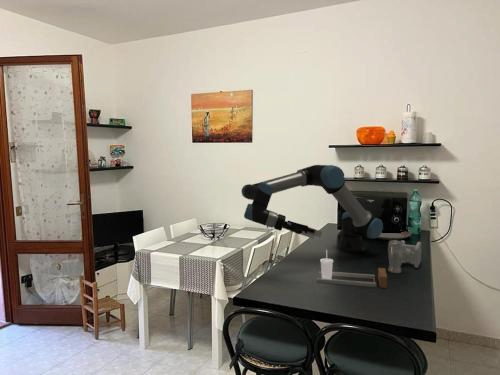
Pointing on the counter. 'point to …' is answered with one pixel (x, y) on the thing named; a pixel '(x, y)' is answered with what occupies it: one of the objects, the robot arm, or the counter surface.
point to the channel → (381, 277)
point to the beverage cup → (326, 267)
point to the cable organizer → (411, 254)
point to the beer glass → (395, 256)
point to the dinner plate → (394, 236)
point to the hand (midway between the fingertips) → (317, 235)
